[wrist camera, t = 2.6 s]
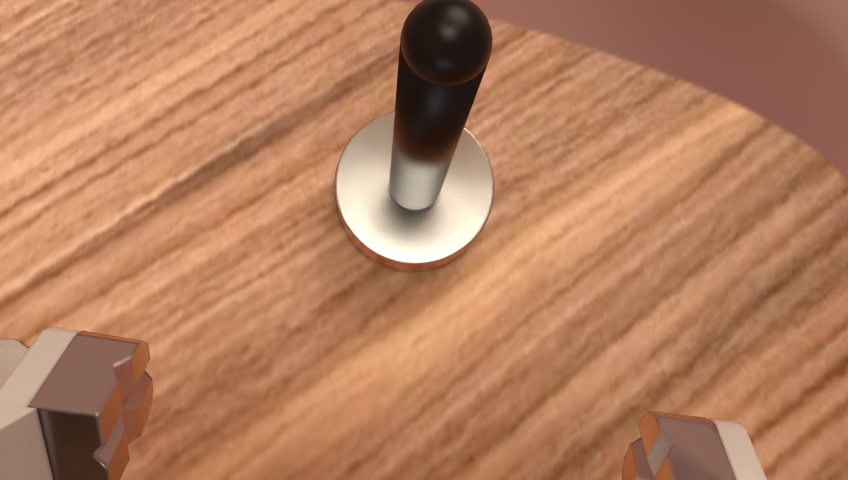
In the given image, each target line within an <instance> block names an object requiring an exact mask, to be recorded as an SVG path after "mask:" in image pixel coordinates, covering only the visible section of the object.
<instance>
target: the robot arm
mask: <svg viewBox="0 0 848 480" xmlns="http://www.w3.org/2000/svg"><path fill="white" fill-rule="evenodd" d="M149 360H150V354H149V347H148V343H146V342H144V341H141V340H135V339H129V338H123V337H116V336H110V335H104V334H98V333H92V332H86V331H76V330H70V329H64V328H58V327H52V326H50V327H48V328H47V329H45V330H43V331H42V332H41V333H40V334H39V335H38V337H37V338H36V339H35V341H34V342H33V344H32V345H31V346H30V348H29V349H28V350H27V352H26V353H25V354H24V356H23V357H22V358H21V360H20V361H19V363H18V364H17V365H16V367H15V368H14V369H13V371H12V372H11V373H10V375H9V376H8V377H7V379H6V380H5V382H4V383H3V384H2V386H1V387H0V480H120V478H121V476H122V474H123V472H124V470H125V468H126V465H127V463H128V461H129V459H130V458H129V450H128V444H129V443H131V442H132V441H134V440H135V439H137V438H138V437H140V436H141V434H142V432H143V429H144V427H145V425H146V423H147V420H148V416H149V413H150V409H151V405H152V398H153V382H152V378H151V377H150V376H149V375H148V373H147V372H146V371H145V368H146V366H147V364H148V362H149ZM639 430H640V434H641V438H639V439H637V440H636V441H634V442H632V443H631V444H630V445H629V447H628V450H627V452H626V455H625V457H624V463H623V470H622V480H767V478H766V476H765V473H764V471H763V469H762V466H761V464H760V462H759V459H758V457H757V455H756V452H755V450H754V447H753V445H752V443H751V440H750V438H749V436H748V433H747V431H746V429H745V427H744V426H743V425H742V424H741V423H740V422H733V421H726V420H718V419H707V418H703V417H695V416H687V415H679V414H671V413H664V412H656V411H648V412H647V413H646V414H645V415H644V416H643V418H642V420H641V422H640V424H639Z"/></svg>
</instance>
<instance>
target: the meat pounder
mask: <svg viewBox="0 0 848 480" xmlns="http://www.w3.org/2000/svg"><path fill="white" fill-rule="evenodd" d="M491 51H492V32H491V28H490V25H489V23H488V20H487V18H486V16H485V15H484V13H483V12H482V11H481V10H480V8H479V7H478V6H477V5H475V4H474V3H473V2H471V1H470V0H424V1H422V2H421V3H419V4H418V5H417V6H416V7H415V8H414V9H413V10H412V11H411V13H410V14H409V15H408V17H407V19H406V21H405V23H404V26H403V29H402V32H401V39H400V52H399V65H398V78H397V91H396V104H395V111H393V112H390V113H387V114H384V115H381V116H379V117H377V118H375V119H373V120H372V121H370V122H369V123H367V124H366V125H364V126H363V127H362V128H361V129H360V130H358V131H357V132H356V133H355V135H354V136H353V137H352V138H351V139H350V140H349V142H348V143H347V145H346V146H345V148H344V150H343V152H342V154H341V156H340V159H339V162H338V165H337V168H336V174H335V185H334V188H335V198H336V203H337V207H338V212H339V216H340V219H341V222H342V225H343V227H344V229H345V231H346V233H347V235H348V237H349V238H350V239H351V241H352V242H353V244H354V245H355V246H356V247H357V248H358V249H359V250H360V251H361V252H362V253H363V254H365V255H366V256H367V257H368V258H370V259H371V260H373V261H375V262H376V263H378V264H381V265H383V266H385V267H388V268H391V269H394V270H400V271H408V272H418V271H426V270H431V269H435V268H438V267H440V266H443V265H445V264H447V263H449V262H451V261H453V260H454V259H455V258H457V257H458V256H460V255H461V254H462V253H463V252H464V251H465V250H466V249H467V248H468V247H469V246H470V244H471V243H472V242H473V241H474V240H475V238H476V237H477V236H478V234H479V233H480V232H481V230H482V229H483V227H484V225H485V224H486V222H487V219H488V217H489V215H490V212H491V208H492V205H493V199H494V177H493V171H492V167H491V164H490V161H489V159H488V156H487V154H486V152H485V151H484V149H483V147H482V145H481V144H480V143H479V141H478V140H477V139H476V137H475V136H474V135H473V134H472V133H471V132H470V131H469V130H468V129H466V128H465V127H464V126H465V123H466V120H467V118H468V115H469V112H470V110H471V107H472V104H473V102H474V99H475V96H476V93H477V91H478V88H479V85H480V83H481V80H482V77H483V75H484V72H485V69H486V66H487V64H488V61H489V58H490V55H491Z"/></svg>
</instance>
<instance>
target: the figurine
mask: <svg viewBox="0 0 848 480" xmlns="http://www.w3.org/2000/svg"><path fill="white" fill-rule="evenodd" d="M27 350H28V349H27V348H26V347H25V346H24V345H22V344H21V343H20V342H19V341H17V340H10V339H0V387H1V386H2V384H3V383H4V382H5V380H6V379H7V377H8V376H9V375H10V373H11V372H12V371H13V369H14V368H15V367H16V365H17V364H18V363H19V361H20V360H21V358H22V357H23V356H24V354H25V353H26V352H27Z"/></svg>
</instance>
